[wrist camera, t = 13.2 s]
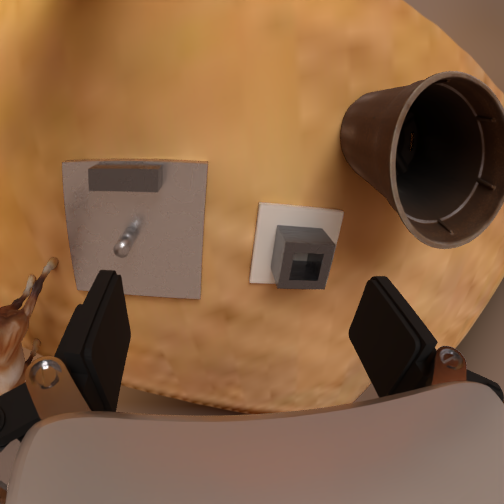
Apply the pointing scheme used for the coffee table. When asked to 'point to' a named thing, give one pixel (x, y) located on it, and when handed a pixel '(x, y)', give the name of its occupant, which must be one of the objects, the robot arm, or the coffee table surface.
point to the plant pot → (432, 154)
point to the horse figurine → (18, 332)
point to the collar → (301, 272)
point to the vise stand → (137, 223)
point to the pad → (287, 216)
